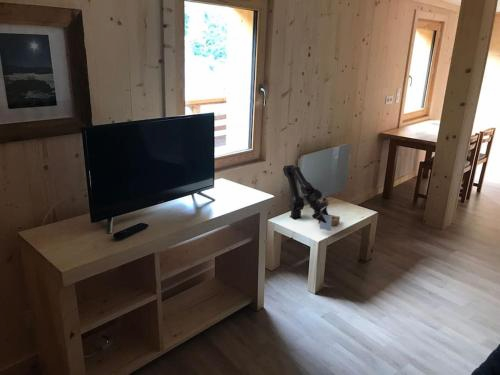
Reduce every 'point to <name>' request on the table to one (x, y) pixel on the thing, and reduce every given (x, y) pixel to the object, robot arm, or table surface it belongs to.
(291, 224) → the table surface
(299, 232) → the table surface
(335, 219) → the slotted case
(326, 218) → the cover plate
